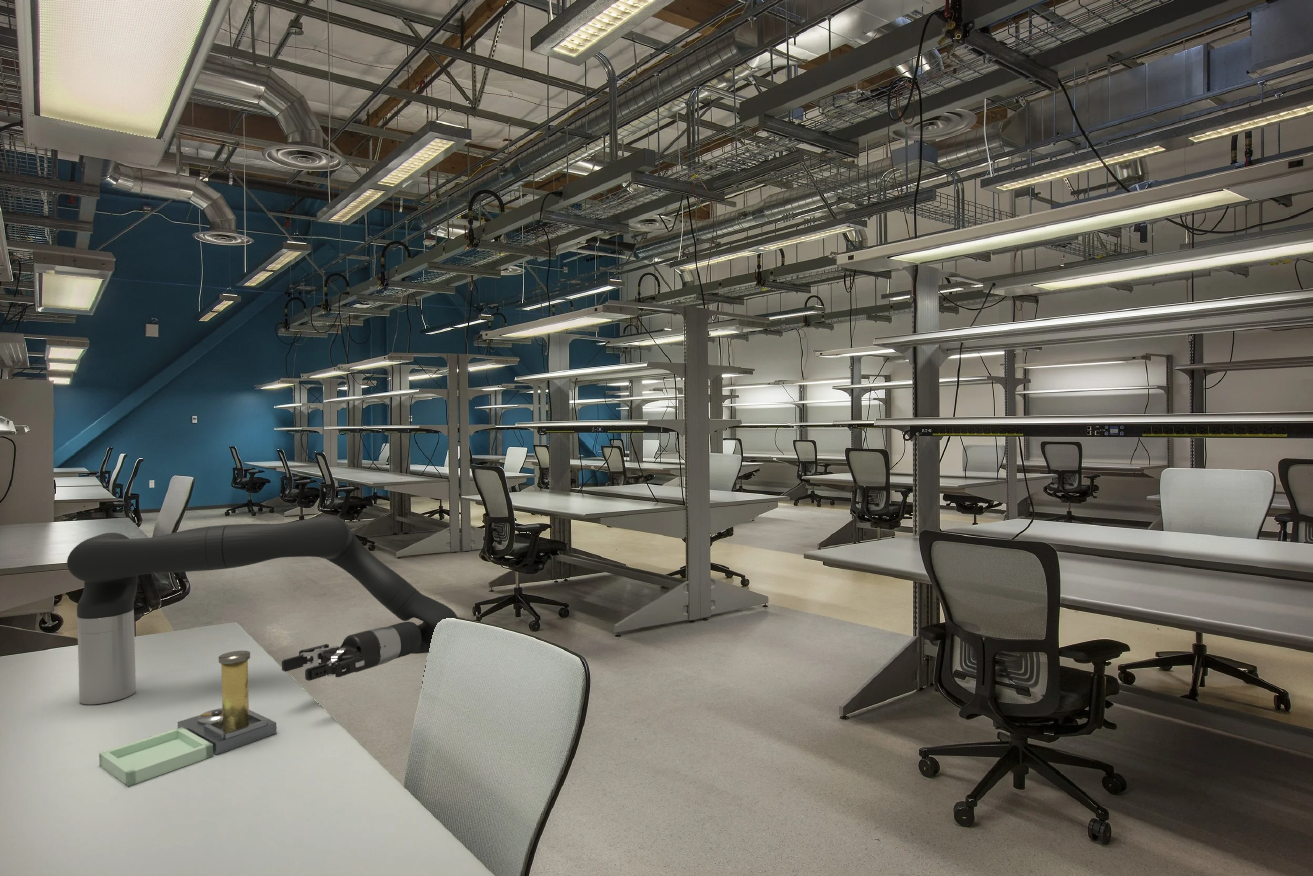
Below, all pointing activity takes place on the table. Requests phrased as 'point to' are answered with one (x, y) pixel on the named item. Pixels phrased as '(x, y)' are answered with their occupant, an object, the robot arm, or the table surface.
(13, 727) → the table surface
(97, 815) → the table surface
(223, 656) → the pin
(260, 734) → the crank deck
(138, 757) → the tray
